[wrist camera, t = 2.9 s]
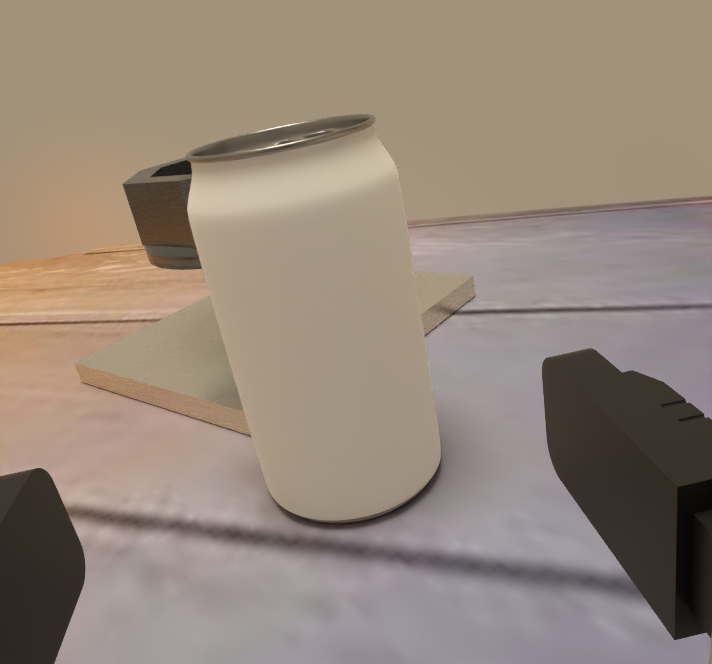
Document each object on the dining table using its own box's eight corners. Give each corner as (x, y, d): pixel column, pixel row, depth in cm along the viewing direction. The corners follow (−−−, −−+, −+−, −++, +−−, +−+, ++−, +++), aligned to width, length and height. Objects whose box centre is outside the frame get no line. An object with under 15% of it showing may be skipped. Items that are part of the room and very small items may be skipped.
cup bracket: (279, 278, 46) (243, 134, 42) (475, 295, 37) (453, 110, 33) (82, 381, 36) (9, 202, 32) (284, 446, 26) (216, 196, 22)
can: (252, 455, 26) (162, 150, 21) (400, 403, 27) (347, 109, 22) (293, 558, 20) (180, 170, 15) (477, 485, 21) (427, 112, 17)
